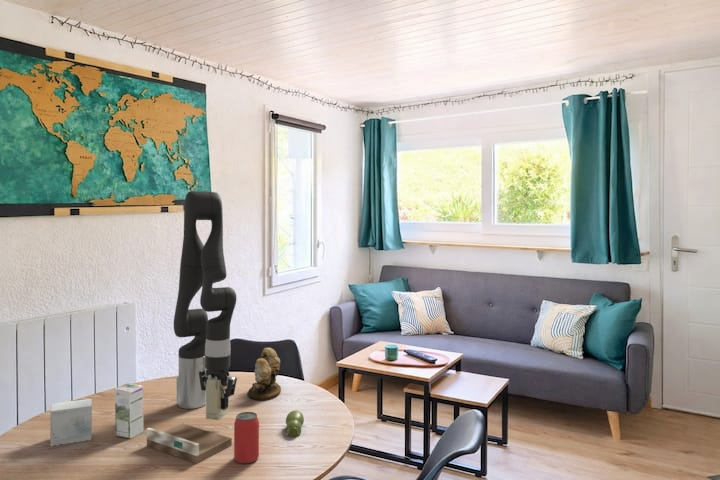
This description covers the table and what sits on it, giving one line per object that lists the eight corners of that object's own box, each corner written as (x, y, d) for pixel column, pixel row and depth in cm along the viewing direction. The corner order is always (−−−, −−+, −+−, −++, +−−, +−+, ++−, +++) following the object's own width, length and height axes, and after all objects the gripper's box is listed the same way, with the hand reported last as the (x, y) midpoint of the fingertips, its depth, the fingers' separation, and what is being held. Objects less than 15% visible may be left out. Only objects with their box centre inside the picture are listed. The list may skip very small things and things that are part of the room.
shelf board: (145, 446, 147) (145, 429, 146) (182, 429, 158) (183, 413, 158) (195, 463, 137) (195, 445, 137) (231, 445, 148) (231, 428, 148)
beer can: (236, 453, 143) (236, 411, 143) (260, 453, 144) (260, 410, 143) (232, 465, 137) (232, 420, 136) (257, 464, 137) (257, 420, 137)
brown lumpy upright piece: (253, 384, 202) (253, 341, 201) (283, 385, 202) (284, 342, 202) (244, 400, 184) (245, 353, 183) (277, 401, 184) (278, 354, 184)
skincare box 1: (50, 447, 145) (49, 410, 145) (51, 438, 151) (51, 403, 150) (92, 440, 150) (91, 404, 150) (92, 432, 156) (91, 397, 155)
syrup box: (144, 431, 156) (144, 384, 156) (129, 439, 151) (129, 390, 150) (129, 428, 158) (129, 382, 158) (114, 436, 153) (114, 388, 152)
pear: (304, 407, 164) (302, 425, 154) (304, 422, 165) (302, 441, 155) (286, 407, 163) (283, 425, 154) (286, 422, 164) (283, 441, 155)
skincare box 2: (218, 421, 155) (219, 381, 154) (205, 419, 156) (205, 379, 155) (228, 412, 161) (228, 374, 161) (215, 411, 162) (215, 373, 162)
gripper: (191, 351, 158) (191, 405, 159) (226, 359, 151) (225, 416, 152) (210, 346, 164) (209, 398, 165) (244, 353, 157) (243, 408, 158)
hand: (217, 406), depth 159 cm, fingers closed on skincare box 2, 5 cm apart
